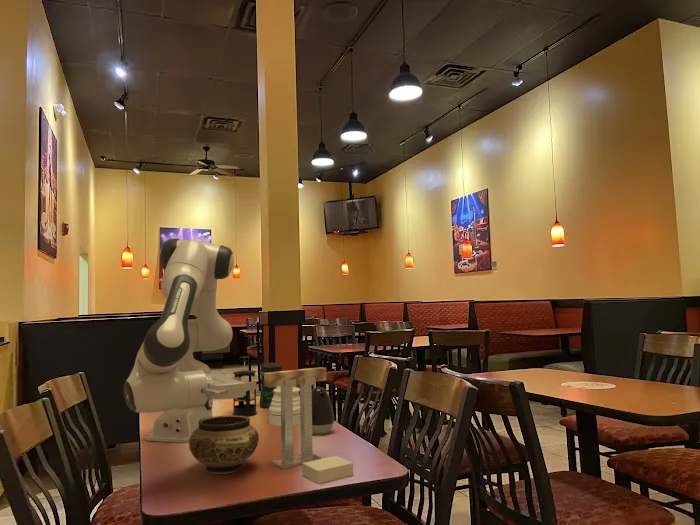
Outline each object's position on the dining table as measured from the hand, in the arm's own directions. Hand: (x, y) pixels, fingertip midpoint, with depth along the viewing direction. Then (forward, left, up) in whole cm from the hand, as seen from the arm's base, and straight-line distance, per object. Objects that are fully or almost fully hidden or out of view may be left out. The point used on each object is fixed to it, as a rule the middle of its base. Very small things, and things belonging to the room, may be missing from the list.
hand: (247, 382), depth 135 cm
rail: (+11, +9, -2) cm, 14 cm away
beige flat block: (+21, -2, -23) cm, 31 cm away
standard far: (+13, +11, -23) cm, 29 cm away
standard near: (+9, +7, -23) cm, 25 cm away
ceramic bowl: (-7, +3, -23) cm, 24 cm away
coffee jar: (-16, +88, -23) cm, 92 cm away
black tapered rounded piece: (+12, +42, -23) cm, 49 cm away
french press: (-23, +72, -23) cm, 79 cm away
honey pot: (-3, +59, -23) cm, 63 cm away
